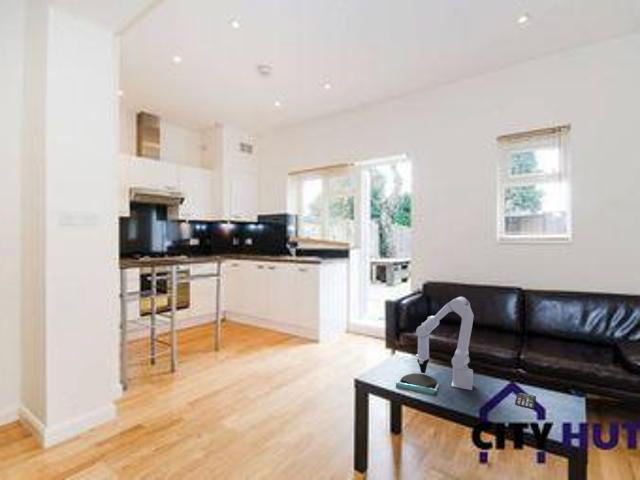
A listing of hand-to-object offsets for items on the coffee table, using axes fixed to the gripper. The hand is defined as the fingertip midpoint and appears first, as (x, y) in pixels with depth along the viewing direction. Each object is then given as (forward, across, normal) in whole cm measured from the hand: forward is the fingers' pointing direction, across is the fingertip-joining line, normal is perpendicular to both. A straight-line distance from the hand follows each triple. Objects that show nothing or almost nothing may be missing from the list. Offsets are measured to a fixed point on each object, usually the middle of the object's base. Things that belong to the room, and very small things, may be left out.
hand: (423, 372), depth 186 cm
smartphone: (+2, +9, +47) cm, 48 cm away
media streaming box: (+2, +12, 0) cm, 12 cm away
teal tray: (+1, +16, 0) cm, 16 cm away
